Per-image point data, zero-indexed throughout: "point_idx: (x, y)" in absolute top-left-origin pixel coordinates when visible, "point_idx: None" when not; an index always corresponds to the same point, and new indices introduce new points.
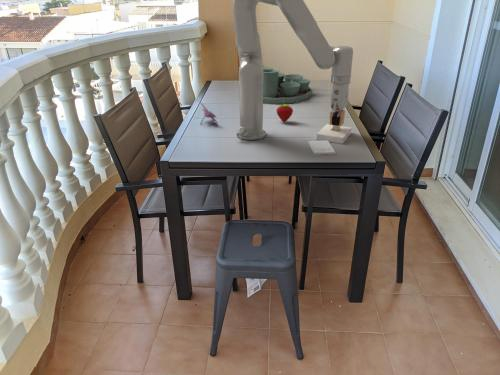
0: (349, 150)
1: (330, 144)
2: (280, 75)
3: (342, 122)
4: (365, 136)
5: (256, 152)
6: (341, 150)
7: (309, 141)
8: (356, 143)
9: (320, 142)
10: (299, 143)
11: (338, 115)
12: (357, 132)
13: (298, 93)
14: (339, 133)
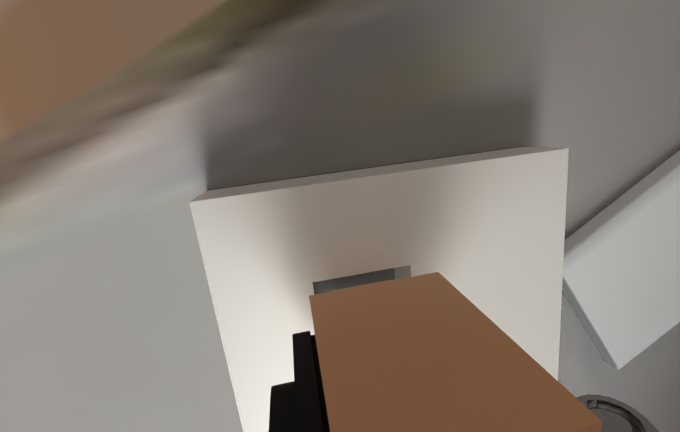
0: (639, 34)
1: (627, 211)
2: None
3: (399, 298)
4: (211, 12)
5: None
6: (658, 96)
7: (626, 361)
8: (460, 34)
9: (620, 291)
10: (627, 398)
11: (640, 418)
12: (142, 141)
13: None
14: (463, 234)
